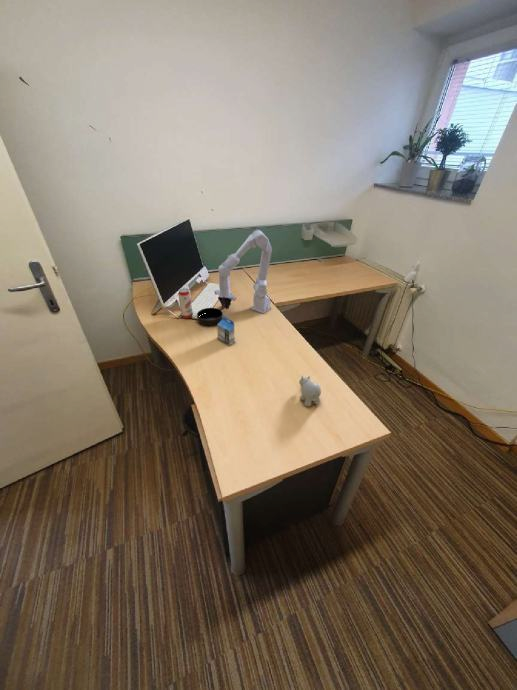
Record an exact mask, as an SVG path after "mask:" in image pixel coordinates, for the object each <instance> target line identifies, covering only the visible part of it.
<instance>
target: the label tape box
mask: <svg viewBox="0 0 517 690" xmlns="http://www.w3.org/2000/svg"><path fill="white" fill-rule="evenodd" d="M216 329H217V339H218V340H220V341H221V342H223V343H224V344H226V345H228V346H231V345H233V344H234V343H235V321H234V320H232V319H231V318H229V317H227V316H225V315H224V314H223V315H222V320H221V321H220V322H219V323H218V324H217V327H216Z"/></svg>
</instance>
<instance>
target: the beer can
mask: <svg viewBox="0 0 517 690" xmlns="http://www.w3.org/2000/svg"><path fill="white" fill-rule="evenodd" d="M177 295H178V302H179V307H180V309H179V310H180V314H181V318H183V319H187V320H188V319H192V317H193V316H194V313H193V303H192V298H191V297H192V296H191V292H190V290H189V288H180V289H178V293H177ZM192 315H193V316H192Z"/></svg>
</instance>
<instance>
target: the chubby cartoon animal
mask: <svg viewBox="0 0 517 690" xmlns="http://www.w3.org/2000/svg"><path fill="white" fill-rule="evenodd" d="M310 376H311V375H309V376H307V377H304V376H303V375H301V377H300V379H299V380H298V381H299V382H298V383H299V385H300V387H301V392H300V393H301V396H300V397H301V400H302V401H303V402H304V406H306V407H308V408H309V407H311V406H312V403H313V404H315V405H319V404H320V403H321V400H320V399H321V398H320V397H321V394H322V390H321V387H320V385H319V384H318V383H317V382H315V381H311V379H310V378H311V377H310Z"/></svg>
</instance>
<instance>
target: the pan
mask: <svg viewBox="0 0 517 690" xmlns="http://www.w3.org/2000/svg"><path fill="white" fill-rule="evenodd" d="M231 305H232V303H230V306H231ZM223 310H226V307H225V304H224V305H221V306H219V307H206V308H201V309H200V310H199V311H198V312H197V313H196V319H197V320H196V321H197V323H198V324H199V326H202V327H207V328H213V327H216V326H217V324H218V323H219V322H220V321H221V320H222V315H223V316H224V313H223ZM204 313H206V314H204ZM202 314H203V315H202ZM200 315H201V316H200ZM199 316H200V317H199Z"/></svg>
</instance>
